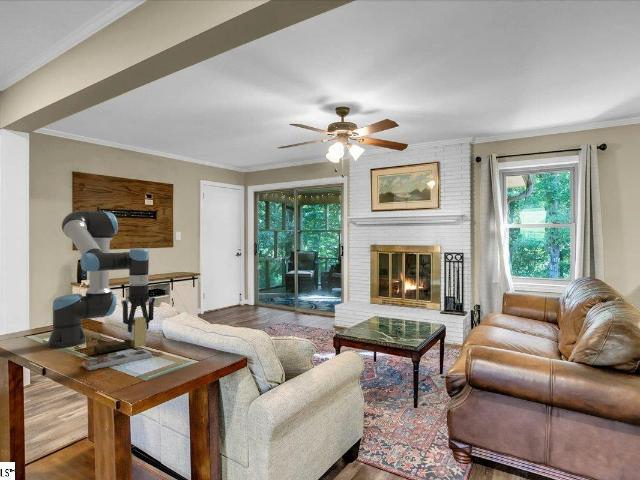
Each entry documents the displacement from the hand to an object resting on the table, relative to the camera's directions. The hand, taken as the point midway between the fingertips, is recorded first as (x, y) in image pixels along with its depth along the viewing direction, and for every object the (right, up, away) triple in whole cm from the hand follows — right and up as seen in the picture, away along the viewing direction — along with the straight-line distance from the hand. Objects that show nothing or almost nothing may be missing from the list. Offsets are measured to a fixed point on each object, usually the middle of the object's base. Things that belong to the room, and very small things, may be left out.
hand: (138, 338), depth 161 cm
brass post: (0, -3, 0) cm, 3 cm away
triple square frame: (-5, -8, -6) cm, 11 cm away
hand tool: (-14, -8, +9) cm, 19 cm away
